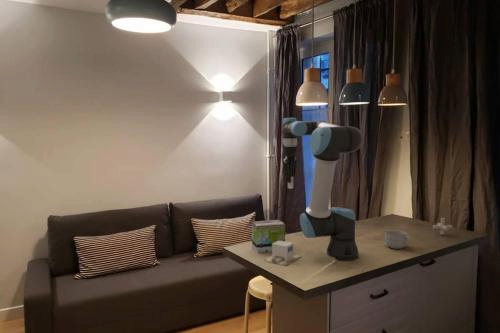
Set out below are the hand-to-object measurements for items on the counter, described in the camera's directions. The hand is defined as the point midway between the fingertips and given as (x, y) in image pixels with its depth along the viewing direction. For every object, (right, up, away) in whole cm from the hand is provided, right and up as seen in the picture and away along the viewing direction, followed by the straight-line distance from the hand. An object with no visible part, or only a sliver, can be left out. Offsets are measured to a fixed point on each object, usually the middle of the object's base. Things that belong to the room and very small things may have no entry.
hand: (290, 188), depth 217 cm
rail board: (-7, -32, -34) cm, 47 cm away
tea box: (-13, -31, -18) cm, 38 cm away
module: (-7, -31, -34) cm, 47 cm away
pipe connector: (+86, -27, +2) cm, 90 cm away
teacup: (+53, -30, -18) cm, 64 cm away
